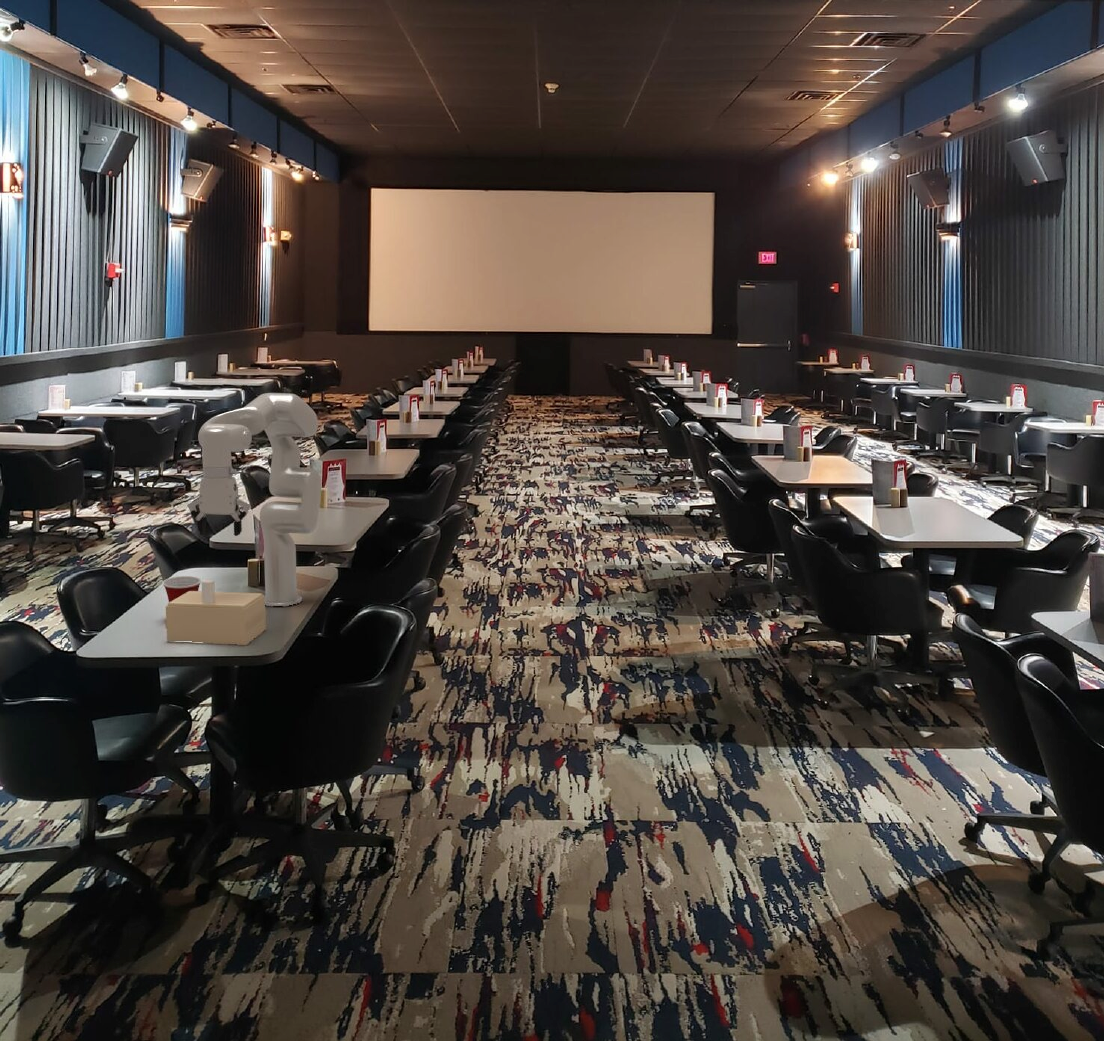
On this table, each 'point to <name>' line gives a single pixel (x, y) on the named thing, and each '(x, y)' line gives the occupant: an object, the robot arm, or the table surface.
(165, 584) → the plastic cup
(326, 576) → the table surface
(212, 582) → the flap
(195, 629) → the carton
